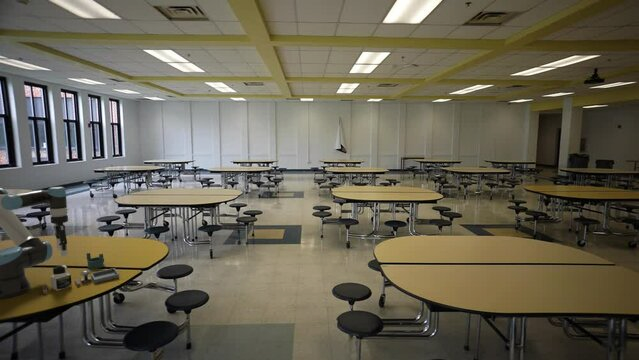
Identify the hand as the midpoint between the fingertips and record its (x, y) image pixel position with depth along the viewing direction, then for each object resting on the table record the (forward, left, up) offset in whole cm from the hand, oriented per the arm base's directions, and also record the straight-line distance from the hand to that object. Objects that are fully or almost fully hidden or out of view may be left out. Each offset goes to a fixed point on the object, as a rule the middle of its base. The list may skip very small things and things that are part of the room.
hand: (62, 252), depth 188 cm
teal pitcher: (+18, +21, -19) cm, 33 cm away
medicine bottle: (-2, -2, -19) cm, 19 cm away
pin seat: (-2, -2, -19) cm, 19 cm away
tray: (+19, -3, -19) cm, 27 cm away
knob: (+10, 0, -19) cm, 21 cm away
